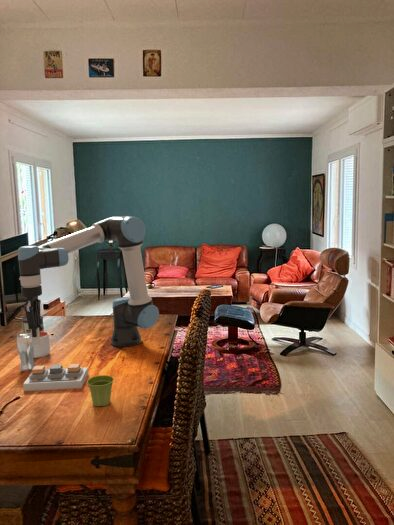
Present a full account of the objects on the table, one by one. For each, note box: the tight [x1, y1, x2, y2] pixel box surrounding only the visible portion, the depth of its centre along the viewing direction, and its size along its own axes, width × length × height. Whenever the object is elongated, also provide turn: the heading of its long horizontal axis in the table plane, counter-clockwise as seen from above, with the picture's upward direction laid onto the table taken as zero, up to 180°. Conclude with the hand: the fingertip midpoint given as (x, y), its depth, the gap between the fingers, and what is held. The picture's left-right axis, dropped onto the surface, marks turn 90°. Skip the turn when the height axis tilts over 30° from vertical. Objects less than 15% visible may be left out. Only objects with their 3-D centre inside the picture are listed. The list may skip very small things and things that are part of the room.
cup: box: [34, 331, 51, 359], centre depth 212 cm, size 10×10×10 cm
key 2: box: [67, 363, 81, 372], centre depth 179 cm, size 4×4×2 cm
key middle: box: [49, 364, 64, 373], centre depth 179 cm, size 4×4×2 cm
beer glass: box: [16, 333, 36, 372], centre depth 195 cm, size 7×7×15 cm
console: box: [22, 366, 89, 392], centre depth 179 cm, size 22×14×4 cm, turn 93°
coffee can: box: [21, 315, 45, 334], centre depth 227 cm, size 10×10×14 cm
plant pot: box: [86, 374, 115, 407], centre depth 159 cm, size 9×9×9 cm
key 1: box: [31, 365, 46, 373], centre depth 179 cm, size 4×4×2 cm
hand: (36, 344), depth 177 cm, fingers closed
